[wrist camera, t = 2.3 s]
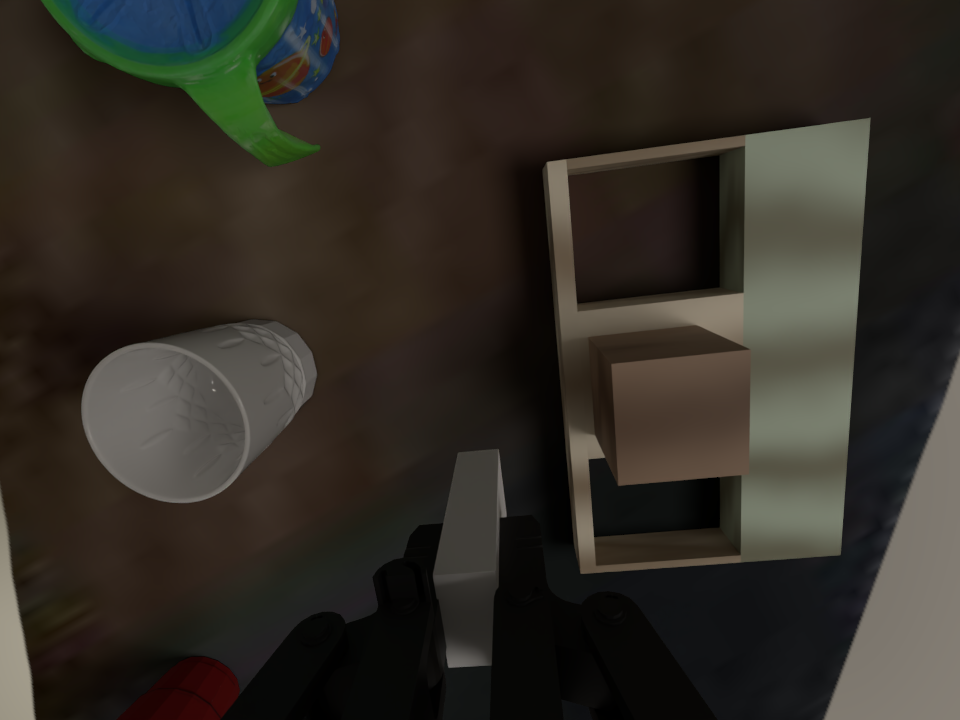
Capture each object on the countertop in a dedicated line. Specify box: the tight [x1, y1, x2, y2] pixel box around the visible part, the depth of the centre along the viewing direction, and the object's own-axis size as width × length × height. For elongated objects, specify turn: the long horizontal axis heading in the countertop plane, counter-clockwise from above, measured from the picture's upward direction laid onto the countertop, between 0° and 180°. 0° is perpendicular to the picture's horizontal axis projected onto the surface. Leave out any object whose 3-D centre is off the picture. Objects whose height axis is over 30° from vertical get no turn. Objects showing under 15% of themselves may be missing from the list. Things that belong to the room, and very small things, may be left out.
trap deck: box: [542, 118, 870, 574], centre depth 29 cm, size 25×16×3 cm, turn 7°
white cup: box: [81, 319, 317, 503], centre depth 27 cm, size 8×8×10 cm
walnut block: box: [588, 325, 751, 486], centre depth 25 cm, size 6×6×6 cm
